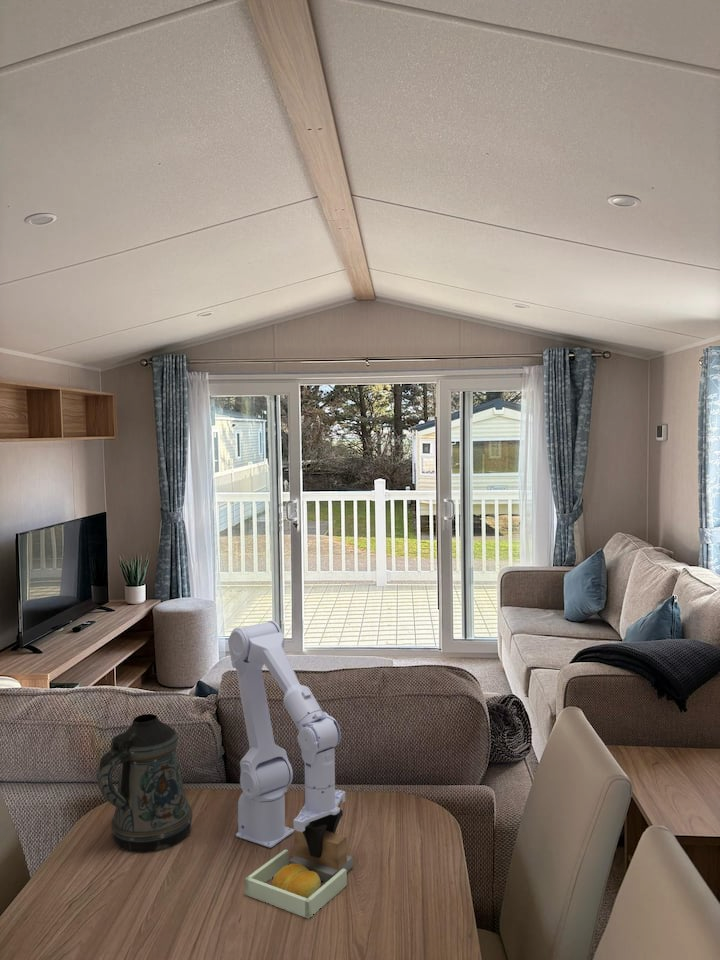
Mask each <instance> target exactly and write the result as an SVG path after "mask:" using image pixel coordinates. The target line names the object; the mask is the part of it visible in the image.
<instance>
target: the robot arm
mask: <svg viewBox="0 0 720 960" xmlns="http://www.w3.org/2000/svg"><path fill="white" fill-rule="evenodd" d="M227 643H228V644H227V645H228V648H229V654H230V661H231V666H232V668H233V669H235V670H236V676H237V677H236V678H237V683H238V688H239V694H240V699H241V706H242V712H243V716H244V717H243V719H244V722H245V729H246V735H247V740H248V744H249V745H248V746H249V749H248V750H247V752H246V753H245V755H244V756H243V757H242V758H241V760H240V761H239V767H240V776H239V777H240V778H239V783H240V787H241V790H242V793H241V794H240V796H239V798H238V802H237V828H238V829H237V832H236V833H235V836H236V838H239V839H243V840H245V841H249V842H252V843H254V844H257V845H260V846H263V847H267V848H269V849H271V848H273V847H275V846H276V845H277V844H278V843H280V842H282V841H283V840H284V839H286V838H287V837H289V836H290V835H292V834H293V833H294V831H295V830H297V831H300V832H303V834H304V836H305V839H306V842H307V845H308V848H309V852H310V855H311V856H313V857H316V858H320V857H321V854H322V845H323V837H324V833H325V830H326V831H329V832H332V833H336V831H337V829H338V826H339V823H340V820H341V819H342V817H343V816H344V815H343V809H341V808H340V807H339V804H341V803H342V804H343V803H344V802H346V791H345V790H341V789H336V774H335V773H336V771H335V770H336V767H335V766H336V765H335V764H336V763H335V761H336V759H335V756H336V755H335V754H336V753H335V747H337V746H338V745H339V744H340V742H341V739H342V738H341V737H342V734H341V728H340V725H339V724H338V722H337V720H336V719H335V718H334V717H333V716H331V715H329V713H327V712H326V711H323V709H322V708H321V706H320V705H319V703H318V701H317V699H316V698H315V696H314V694H313V693H312V690H311V689H310V687H308V686H306V685H304V684H303V685H302V684H301V683H300V681H299V679H298V676H297V674H296V672H295V670H294V669H293V667H292V664H291V661H290V660H289V658H288V655H287V654H286V651H285V649H284V647H285V635H284V634H283V631H282V629H281V627H280V625H279V624H278V623H277V622H276V621H274V620H269V621H267V622H263V623H258V624H257V623H256V624H253V625H248V626H243V627H235V628H233V629H232V631H231V633H230V635H229V637H228V639H227ZM264 665H265V667H266V669H267V670H268V672H269V673H270V675H272V678H274V680H275V682H276V683H277V684H278V686H279V687H280V689H281V691H282V692H283V693H284V697H283V706H285V710H286V711H287V713H288V714H289V716H290V717H291V719H292V721H293V723H294V725H295V727H296V728H297V730H298V734H297V743H298V746H299V748H300V753H301V758H302V761H303V762H304V796H305V797H304V805H303V806H302V808H301V810H300V811H299V813H298V815H297V816H296V817H295V818H294V819H293V828H290V827H288V826H286V811H285V809H286V808H285V807H286V806H285V803H286V802H285V793H288V787H289V786H291V784H292V782H293V777H294V773H293V767H292V764H291V763H290V761H289V758H288V755H287V751H286V749H284V748H282V747H281V746H280V745H278V744H276V743H275V739H274V732H273V726H272V721H271V716H270V710H269V709H270V708H269V703H268V698H267V693H266V687H265V681H264V676H263V667H264Z"/></svg>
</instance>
